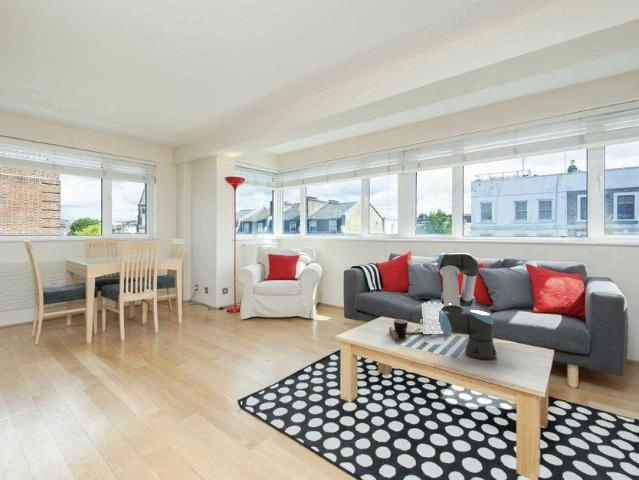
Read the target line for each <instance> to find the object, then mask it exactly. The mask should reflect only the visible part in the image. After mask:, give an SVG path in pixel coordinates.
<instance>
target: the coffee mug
mask: <svg viewBox="0 0 639 480" xmlns="http://www.w3.org/2000/svg"><path fill="white" fill-rule="evenodd" d="M408 323H409V321H408V320H406V319H394V320H393V326H394V327H393V329H394V330H395V331H396V333H397V334H398V339H406V338H407V335H406V332H407V331H408V325H409V324H408Z"/></svg>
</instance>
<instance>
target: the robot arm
mask: <svg viewBox="0 0 639 480" xmlns="http://www.w3.org/2000/svg"><path fill="white" fill-rule="evenodd" d="M436 270H437V271H438V272H439V274H440V275H441V276H442V287H443V288H442V289H443V290H442V291H443V292H441V296H440V304H441V303H442V304H444V307H443V308H442V309H441V308H440V310H439V322H440V324H439V325H440V330H441V331H442V333H445V334H456V335H466V336H467V335H468V340H467V343H466V345H465V348H464V353H465V355H467V356H468V357H470V358H472V359H477V360H484V361H492V360H495V359H496V358H497V350H496V348H495V344H494V317H493V316H492V314H491V313H490V312H486V311H482V310H477V309H476V310H475V309H469V310H468V312H465V311H464V309H463V308H474V307H476V297H475V296H474V293H475V286H476V280H477V276H478V275H479V273H480V265H479V262H478V261H477V259H476V258H475V257H474V256H473V255H471V254H469V253H467V252H466V253H465V252H441V253H439V254H438V259H437V269H436ZM460 273H462V274H463V277H462V283H461V293H460V290H459V279H458V278H459V275H460ZM423 317H424V316H422V317H421V319H420V320H419V325H423Z"/></svg>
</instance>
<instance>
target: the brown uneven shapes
mask: <svg viewBox="0 0 639 480" xmlns="http://www.w3.org/2000/svg"><path fill="white" fill-rule="evenodd" d="M388 331H389V332H388V333H389V335H390V337H391V338H392V339H393V341H394V342H399V338H398V334H397V333H396V331H395V328H394V327H393V326H389V328H388ZM416 334H423V330H420V331H419V330H415V331H414V330H413V331H412V330H410V331H409V330H407V332H406V336H407V335H411V336H413V335H416Z"/></svg>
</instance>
